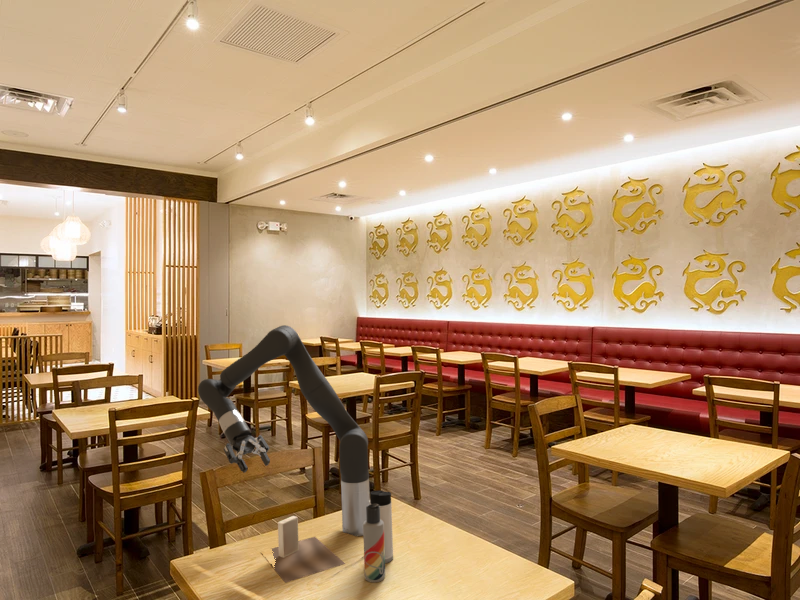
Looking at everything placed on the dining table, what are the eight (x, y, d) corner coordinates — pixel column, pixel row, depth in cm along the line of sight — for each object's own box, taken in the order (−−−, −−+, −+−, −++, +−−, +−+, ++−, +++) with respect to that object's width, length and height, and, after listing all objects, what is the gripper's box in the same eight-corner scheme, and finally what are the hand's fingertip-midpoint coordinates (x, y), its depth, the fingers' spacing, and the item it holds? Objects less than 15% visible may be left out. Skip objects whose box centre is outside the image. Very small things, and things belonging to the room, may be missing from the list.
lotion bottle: (376, 585, 144) (374, 510, 144) (360, 578, 147) (358, 505, 148) (389, 576, 148) (387, 503, 149) (373, 570, 152) (371, 499, 152)
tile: (278, 556, 160) (277, 522, 160) (294, 548, 165) (293, 515, 165) (283, 557, 159) (282, 523, 159) (298, 550, 164) (297, 517, 164)
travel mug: (367, 561, 157) (365, 493, 157) (378, 552, 163) (376, 486, 163) (386, 566, 154) (383, 496, 154) (396, 556, 160) (394, 488, 160)
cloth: (314, 539, 173) (314, 536, 173) (345, 567, 154) (345, 563, 154) (259, 555, 163) (259, 551, 163) (285, 586, 145) (285, 582, 145)
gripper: (220, 424, 172) (243, 466, 165) (257, 416, 183) (280, 455, 176) (211, 438, 175) (233, 480, 168) (247, 430, 186) (270, 468, 179)
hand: (257, 467), depth 172 cm, fingers open, 8 cm apart
